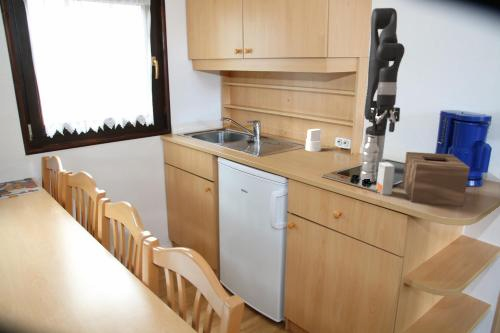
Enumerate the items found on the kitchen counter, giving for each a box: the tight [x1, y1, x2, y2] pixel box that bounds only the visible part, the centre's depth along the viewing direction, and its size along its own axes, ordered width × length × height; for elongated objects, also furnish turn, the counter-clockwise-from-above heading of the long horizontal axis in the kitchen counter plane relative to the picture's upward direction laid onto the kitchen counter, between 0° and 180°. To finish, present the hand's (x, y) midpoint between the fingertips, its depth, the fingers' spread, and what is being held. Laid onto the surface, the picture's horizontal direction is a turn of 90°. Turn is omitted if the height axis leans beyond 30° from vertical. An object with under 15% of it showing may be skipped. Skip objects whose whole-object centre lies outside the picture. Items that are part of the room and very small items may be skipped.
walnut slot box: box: [401, 151, 471, 207], centre depth 150 cm, size 20×18×15 cm
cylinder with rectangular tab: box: [305, 128, 322, 152], centre depth 224 cm, size 9×9×12 cm
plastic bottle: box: [360, 137, 379, 183], centre depth 165 cm, size 6×7×20 cm
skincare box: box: [375, 161, 396, 196], centre depth 153 cm, size 6×4×12 cm
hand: (383, 132), depth 161 cm, fingers open, 8 cm apart
